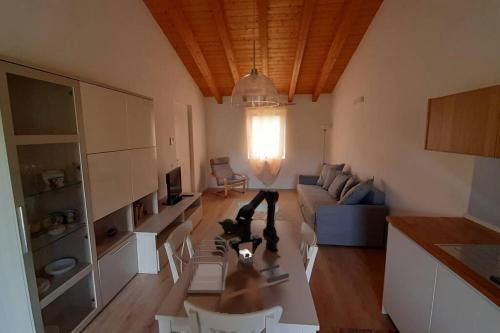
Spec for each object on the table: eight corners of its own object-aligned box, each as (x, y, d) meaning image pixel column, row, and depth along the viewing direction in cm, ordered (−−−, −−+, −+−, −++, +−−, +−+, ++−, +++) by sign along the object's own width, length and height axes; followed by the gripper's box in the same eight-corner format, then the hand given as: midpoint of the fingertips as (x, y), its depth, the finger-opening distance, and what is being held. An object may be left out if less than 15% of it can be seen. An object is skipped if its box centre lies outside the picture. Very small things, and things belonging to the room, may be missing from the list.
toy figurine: (249, 231, 190) (217, 230, 187) (251, 208, 187) (219, 206, 184) (250, 237, 181) (216, 235, 178) (252, 212, 178) (218, 210, 175)
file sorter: (224, 293, 116) (223, 263, 114) (187, 293, 116) (186, 263, 114) (228, 264, 141) (228, 239, 139) (198, 264, 141) (197, 239, 139)
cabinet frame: (278, 267, 138) (278, 263, 137) (288, 277, 129) (288, 273, 128) (259, 273, 133) (259, 268, 132) (268, 283, 124) (269, 278, 123)
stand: (251, 259, 147) (251, 256, 147) (258, 267, 138) (258, 265, 138) (232, 263, 142) (232, 261, 142) (239, 272, 133) (239, 270, 133)
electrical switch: (229, 252, 155) (228, 238, 153) (223, 255, 152) (221, 242, 150) (220, 247, 162) (219, 234, 160) (214, 250, 159) (212, 237, 157)
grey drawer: (246, 258, 145) (246, 247, 144) (253, 265, 137) (253, 254, 136) (238, 260, 143) (238, 249, 142) (244, 268, 135) (244, 256, 134)
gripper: (254, 222, 148) (254, 246, 150) (225, 227, 140) (225, 252, 142) (262, 228, 138) (262, 254, 140) (232, 235, 130) (232, 262, 132)
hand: (245, 255), depth 139 cm, fingers open, 9 cm apart
